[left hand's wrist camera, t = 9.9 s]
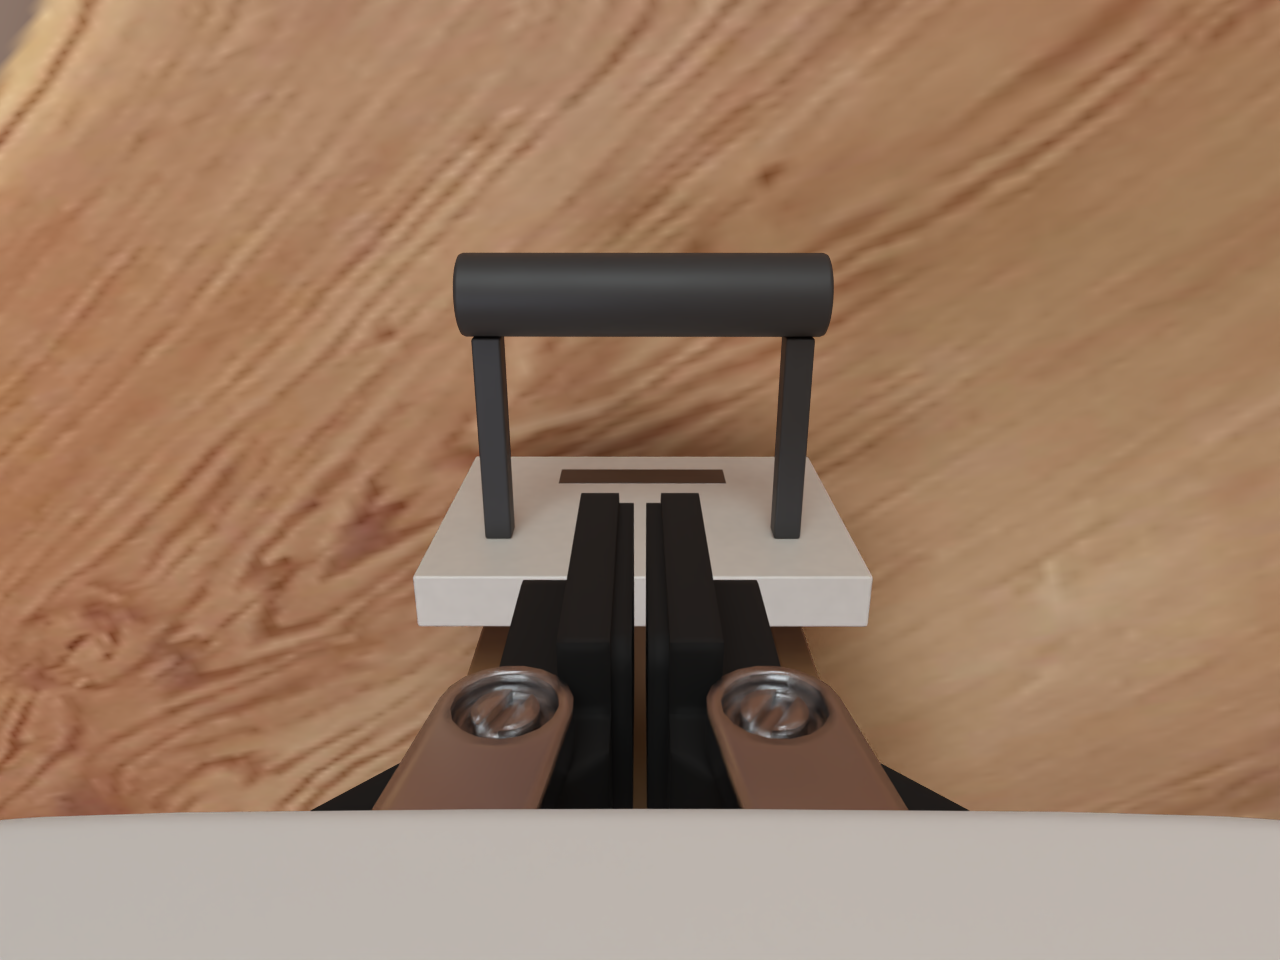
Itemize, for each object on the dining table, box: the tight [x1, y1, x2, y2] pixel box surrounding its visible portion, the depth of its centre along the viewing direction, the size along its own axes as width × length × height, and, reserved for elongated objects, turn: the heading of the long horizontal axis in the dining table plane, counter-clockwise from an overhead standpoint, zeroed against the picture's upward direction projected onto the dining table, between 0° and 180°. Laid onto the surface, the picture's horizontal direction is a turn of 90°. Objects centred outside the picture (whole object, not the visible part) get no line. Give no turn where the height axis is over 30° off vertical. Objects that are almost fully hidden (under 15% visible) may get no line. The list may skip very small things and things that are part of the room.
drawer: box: [413, 253, 873, 809], centre depth 22 cm, size 20×10×7 cm, turn 0°
